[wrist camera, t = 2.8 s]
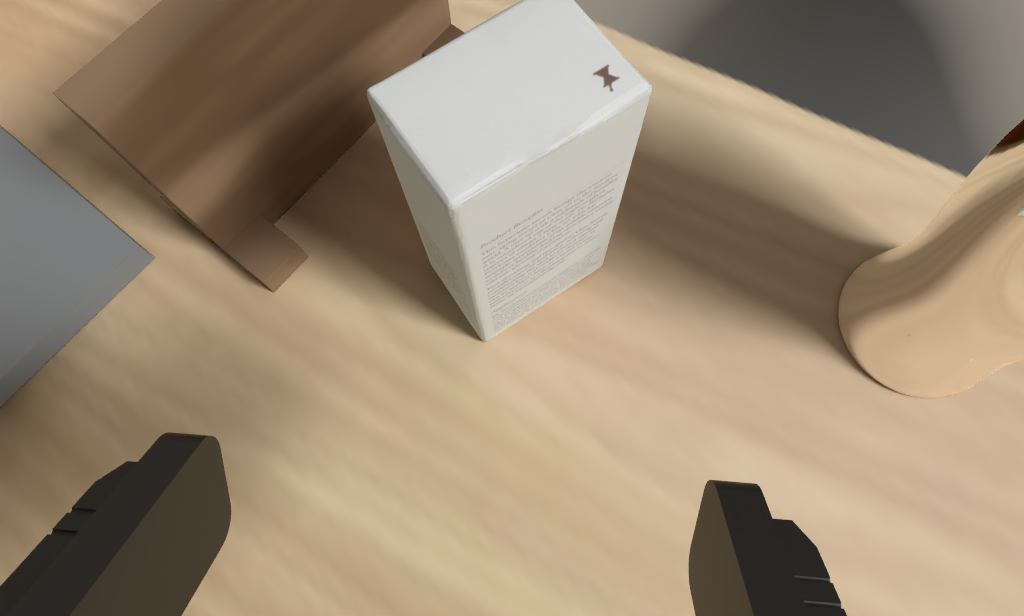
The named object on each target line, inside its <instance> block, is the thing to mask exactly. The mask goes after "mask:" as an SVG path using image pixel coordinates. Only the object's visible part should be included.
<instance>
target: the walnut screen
mask: <svg viewBox="0 0 1024 616" xmlns="http://www.w3.org/2000/svg"><path fill="white" fill-rule="evenodd" d="M463 34H464V32H463V31H461V30H460V29H458V28H457V27H455V26H454V25H452V24H451V19H450V12H449V4H448V0H162V1H161V2H160V3H159V4H157V5H156V6H155V7H154V8H153V9H151V10H150V11H149V12H148V13H147V14H146V15H144V16H143V17H142V18H141V19H140V20H139V21H137V22H136V23H135V24H134V25H133V26H132V27H130V28H129V29H128V30H127V31H126V32H124V33H123V34H122V35H121V36H120V37H119V38H117V39H116V40H115V41H114V42H113V43H112V44H110V45H109V46H108V47H107V48H106V49H104V50H103V51H102V52H101V53H100V54H99V55H97V56H96V57H95V58H94V59H93V60H92V61H90V62H89V63H88V64H87V65H86V66H84V67H83V68H82V69H81V70H80V71H79V72H77V73H76V74H75V75H74V76H73V77H72V78H70V79H69V80H68V81H67V82H66V83H64V84H63V85H62V86H61V87H60V88H59V89H57V90H56V91H55V92H54V93H53V94H54V95H55V96H56V97H57V98H58V99H59V100H60V101H61V102H63V103H64V104H65V105H66V106H67V107H68V108H69V109H70V110H71V111H72V112H73V113H74V114H75V115H77V116H78V117H79V118H80V119H81V120H82V121H83V122H84V123H85V124H86V125H87V126H88V127H89V128H90V129H92V130H93V131H94V132H95V133H96V134H97V135H98V136H99V137H100V138H101V139H102V140H103V141H104V142H106V143H107V144H108V145H109V146H110V147H111V148H112V149H113V150H114V151H115V152H116V153H117V154H118V155H120V156H121V157H122V158H123V159H124V160H125V161H126V162H127V163H128V164H129V165H130V166H131V167H132V168H133V169H135V170H136V171H137V172H138V173H139V174H140V175H141V176H142V177H143V178H144V179H145V180H146V181H147V182H149V183H150V184H151V185H152V186H153V187H154V188H155V189H156V190H157V191H158V192H159V193H160V194H161V195H162V196H161V198H162V199H163V200H164V201H165V202H166V203H167V204H168V205H169V206H170V207H171V208H173V209H174V210H175V211H176V212H177V213H178V214H180V215H181V216H182V217H183V218H184V219H186V220H187V221H188V222H189V223H190V224H192V225H193V226H194V227H195V228H197V229H198V230H199V231H200V232H201V233H203V234H204V235H205V236H206V237H207V238H209V239H210V240H211V241H212V242H213V243H215V244H216V245H217V246H218V247H219V248H221V249H222V250H223V251H224V252H226V253H227V254H228V255H229V256H230V257H232V258H233V259H234V260H235V261H236V262H238V263H239V264H240V265H241V266H242V267H244V268H245V269H246V270H247V271H248V272H250V273H251V274H252V275H253V276H255V277H256V278H257V279H258V280H259V281H261V282H262V283H263V284H264V285H265V286H267V287H268V288H269V289H270V290H271V291H273V292H275V291H276V290H277V289H278V288H279V287H280V286H281V285H282V283H283V282H284V281H285V280H286V279H287V278H288V277H289V276H290V275H291V274H292V273H293V272H294V271H295V270H296V269H297V268H298V267H299V266H300V265H301V264H302V263H303V262H304V261H305V259H306V258H307V257H308V256H307V255H306V254H305V253H304V251H303V250H302V249H301V248H300V246H299V245H298V244H296V243H295V242H294V241H293V240H291V239H290V238H289V237H288V236H286V235H285V234H284V233H283V232H281V231H280V230H279V229H278V228H276V227H275V226H274V225H273V224H274V223H275V222H276V221H277V220H278V219H279V218H280V217H281V216H282V215H283V214H284V213H285V212H286V211H287V210H288V209H289V208H290V207H291V206H292V205H293V204H294V203H295V202H296V201H297V200H298V199H299V198H300V197H301V196H302V195H303V194H304V193H305V192H306V191H307V190H308V189H309V188H310V187H311V186H312V185H313V184H314V183H315V182H316V181H317V180H318V179H319V178H320V177H321V176H322V175H323V174H324V173H325V172H326V171H327V170H328V169H329V168H330V167H331V165H332V164H333V163H334V162H335V161H336V160H337V159H338V158H339V157H340V156H341V155H342V154H343V153H344V152H345V151H346V150H347V149H348V148H349V147H350V146H351V145H352V144H353V143H354V142H355V141H356V140H357V139H358V138H359V137H360V136H361V135H362V134H363V133H364V132H365V131H366V130H367V129H368V128H369V127H370V126H371V125H372V124H373V123H374V122H375V121H376V119H375V116H374V113H373V111H372V108H371V105H370V103H369V100H368V97H367V89H369V88H370V87H372V86H374V85H375V84H377V83H379V82H381V81H383V80H385V79H386V78H388V77H390V76H392V75H394V74H395V73H397V72H399V71H400V70H402V69H404V68H406V67H407V66H409V65H411V64H413V63H414V62H416V61H418V60H420V59H421V58H423V57H425V56H427V55H428V54H430V53H432V52H434V51H435V50H437V49H439V48H440V47H442V46H444V45H446V44H447V43H449V42H451V41H452V40H454V39H456V38H458V37H459V36H461V35H463Z"/></svg>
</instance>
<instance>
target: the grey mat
mask: <svg viewBox="0 0 1024 616" xmlns="http://www.w3.org/2000/svg"><path fill="white" fill-rule="evenodd" d="M154 258H155V257H154V256H152V255H151V254H150V253H149V252H148V251H147V250H145V249H144V248H143V247H142V246H141V245H140V244H138V243H137V242H136V241H135V240H134V239H133V238H131V237H130V236H129V235H128V234H127V233H126V232H124V231H123V230H122V229H121V228H120V227H119V226H117V225H116V224H115V223H114V222H113V221H112V220H110V219H109V218H108V217H107V216H106V215H105V214H103V213H102V212H101V211H100V210H99V209H98V208H96V207H95V206H94V205H93V204H92V203H91V202H89V201H88V200H87V199H86V198H85V197H84V196H82V195H81V194H80V193H79V192H78V191H77V190H75V189H74V188H73V187H72V186H71V185H70V184H68V183H67V182H66V181H65V180H64V179H62V178H61V177H60V176H59V175H58V174H57V173H55V172H54V171H53V170H52V169H51V168H50V167H48V166H47V165H46V164H45V163H44V162H43V161H41V160H40V159H39V158H38V157H37V156H36V155H34V154H33V153H32V152H31V151H30V150H29V149H27V148H26V147H25V146H24V145H23V144H22V143H20V142H19V141H18V140H17V139H16V138H15V137H13V136H12V135H11V134H10V133H9V132H8V131H6V130H5V129H4V128H3V127H1V126H0V407H1V406H2V405H3V404H4V403H5V402H6V401H7V400H8V399H9V398H10V397H11V396H12V395H14V394H15V393H16V392H17V391H18V390H19V389H20V388H21V387H22V386H23V385H24V384H25V383H26V382H27V381H28V380H29V379H30V378H31V377H32V376H33V375H34V374H35V373H36V372H37V371H38V370H39V369H40V368H41V367H42V366H43V365H45V364H46V363H47V362H48V361H49V360H50V359H51V358H52V357H53V356H54V355H55V354H56V353H57V352H58V351H59V350H60V349H61V348H62V347H63V346H64V345H65V344H66V343H67V342H68V341H69V340H70V339H71V338H72V337H73V336H74V335H75V334H77V333H78V332H79V331H80V330H81V329H82V328H83V327H84V326H85V325H86V324H87V323H88V322H89V321H90V320H91V319H92V318H93V317H94V316H95V315H96V314H97V313H98V312H99V311H100V310H101V309H102V308H103V307H104V306H105V305H106V304H108V303H109V302H110V301H111V300H112V299H113V298H114V297H115V296H116V295H117V294H118V293H119V292H120V291H121V290H122V289H123V288H124V287H125V286H126V285H127V284H128V283H129V282H130V281H131V280H132V279H133V278H134V277H135V276H136V275H137V274H139V273H140V272H141V271H142V270H143V269H144V268H145V267H146V266H147V265H148V264H149V263H150V262H151V261H152V260H153V259H154Z"/></svg>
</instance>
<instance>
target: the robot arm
mask: <svg viewBox="0 0 1024 616" xmlns="http://www.w3.org/2000/svg"><path fill="white" fill-rule="evenodd" d="M230 520H231V504H230V498H229V493H228V487H227V482H226V476H225V471H224V465H223V460H222V455H221V449H220V445H219V442H218V440H217V439H216V438H215V437H213V436H205V435H193V434H181V433H165V434H163V435H162V436H160V437H159V438H158V439H157V441H156V442H155V443H154V444H153V445H152V446H151V448H150V449H149V450H148V451H147V452H146V453H145V454H144V456H143V457H142V458H141V459H140V460H139V461H138V462H131V461H127V462H125V463H124V464H122V465H121V466H119V467H118V468H116V469H115V470H113V471H111V472H110V473H108V474H107V475H105V476H104V477H102V478H101V479H99V480H97V481H96V482H95V483H94V484H93V485H92V486H91V487H90V488H89V489H88V490H87V491H86V493H85V494H84V495H83V496H82V497H81V498H80V499H79V500H78V501H77V502H76V504H75V505H74V506H73V507H72V511H71V513H66V515H65V516H64V517H63V518H62V519H61V520H60V521H59V522H58V523H57V525H56V526H55V527H54V528H53V532H52V534H51V535H50V534H47V536H46V537H45V538H44V539H43V540H42V541H41V542H40V543H39V544H38V545H37V547H36V548H35V549H34V550H33V551H32V552H31V553H30V554H29V555H28V556H27V558H26V559H25V560H24V561H23V562H22V563H21V564H20V565H19V566H18V567H17V569H16V570H15V571H14V572H13V573H12V574H11V575H10V576H9V577H8V578H7V580H6V581H5V582H4V583H3V584H2V585H1V586H0V616H181V615H182V614H183V612H184V610H185V609H186V607H187V605H188V603H189V602H190V600H191V598H192V597H193V595H194V593H195V592H196V590H197V588H198V586H199V585H200V583H201V581H202V580H203V578H204V576H205V575H206V573H207V571H208V569H209V568H210V566H211V564H212V563H213V561H214V559H215V558H216V556H217V554H218V552H219V551H220V549H221V547H222V545H223V544H224V541H225V539H226V536H227V533H228V530H229V525H230ZM689 583H690V590H691V595H692V600H693V605H694V610H695V615H696V616H847V615H846V613H845V610H844V609H841V601H840V599H839V597H838V594H837V592H836V590H835V588H834V585H833V583H830V576H829V574H828V572H827V569H826V567H825V565H824V563H823V560H822V558H821V556H820V553H819V551H818V549H817V547H816V546H815V545H814V544H813V543H812V542H811V540H810V539H809V538H808V537H807V536H806V535H805V534H804V533H803V532H802V531H801V530H800V529H799V527H798V526H797V525H796V524H795V523H794V522H793V521H792V520H781V519H772V516H771V514H770V511H769V508H768V506H767V503H766V501H765V498H764V495H763V493H762V490H761V488H760V487H759V486H758V485H757V484H752V483H740V482H728V481H717V480H709V481H708V482H707V484H706V486H705V489H704V493H703V497H702V501H701V505H700V510H699V514H698V518H697V522H696V526H695V531H694V535H693V539H692V543H691V548H690V554H689Z"/></svg>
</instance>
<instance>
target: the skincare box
mask: <svg viewBox="0 0 1024 616" xmlns="http://www.w3.org/2000/svg"><path fill="white" fill-rule="evenodd" d="M651 92H652V86H651V84H650V83H649V82H648V81H647V80H646V79H645V78H644V77H643V76H642V75H641V74H640V73H639V72H638V71H637V70H636V69H635V68H634V66H633V65H632V64H631V63H630V62H629V61H628V60H627V59H626V58H625V57H624V56H623V55H622V54H621V53H620V51H619V50H618V49H617V48H616V47H615V46H614V45H613V44H612V43H611V42H610V41H609V39H608V38H607V37H606V36H605V35H604V34H603V33H602V32H601V30H600V29H599V28H598V27H597V26H596V25H595V24H594V23H593V21H592V20H591V19H590V18H589V17H588V16H587V15H586V14H585V13H584V11H583V10H582V9H581V8H580V7H579V6H578V5H577V4H576V2H575V1H574V0H522V1H520V2H518V3H516V4H515V5H513V6H511V7H509V8H507V9H506V10H504V11H502V12H500V13H499V14H497V15H495V16H494V17H492V18H490V19H489V20H487V21H485V22H483V23H482V24H480V25H478V26H476V27H475V28H473V29H471V30H470V31H468V32H466V33H464V34H463V35H461V36H459V37H458V38H456V39H454V40H452V41H451V42H449V43H447V44H446V45H444V46H442V47H440V48H439V49H437V50H435V51H434V52H432V53H430V54H428V55H427V56H425V57H423V58H421V59H420V60H418V61H416V62H414V63H413V64H411V65H409V66H407V67H406V68H404V69H402V70H400V71H399V72H397V73H395V74H394V75H392V76H390V77H388V78H386V79H385V80H383V81H381V82H379V83H377V84H375V85H374V86H372V87H370V88H369V89H367V97H368V100H369V103H370V105H371V108H372V111H373V113H374V116H375V119H376V121H377V124H378V126H379V129H380V132H381V134H382V137H383V139H384V142H385V145H386V147H387V150H388V153H389V156H390V158H391V160H392V163H393V166H394V168H395V171H396V174H397V176H398V179H399V181H400V184H401V186H402V189H403V192H404V194H405V197H406V200H407V203H408V205H409V208H410V210H411V213H412V216H413V219H414V221H415V224H416V227H417V229H418V232H419V234H420V237H421V240H422V242H423V245H424V248H425V250H426V253H427V256H428V258H429V261H430V264H431V266H432V267H433V269H434V270H435V272H436V273H437V275H438V276H439V278H440V279H441V281H442V282H443V284H444V285H445V287H446V288H447V290H448V291H449V293H450V294H451V296H452V297H453V299H454V300H455V302H456V303H457V305H458V306H459V308H460V309H461V311H462V312H463V314H464V315H465V317H466V318H467V320H468V321H469V323H470V324H471V325H472V327H473V328H474V330H475V331H476V333H477V334H478V336H479V337H480V338H481V340H482V341H484V342H487V341H489V340H490V339H492V338H493V337H495V336H496V335H498V334H499V333H501V332H502V331H504V330H505V329H507V328H508V327H510V326H512V325H513V324H515V323H516V322H518V321H519V320H521V319H522V318H524V317H525V316H527V315H528V314H530V313H531V312H533V311H534V310H536V309H538V308H539V307H541V306H542V305H544V304H545V303H547V302H548V301H550V300H551V299H553V298H554V297H556V296H557V295H559V294H560V293H562V292H564V291H565V290H567V289H568V288H569V287H571V286H572V285H574V284H575V283H577V282H579V281H580V280H582V279H583V278H585V277H586V276H588V275H589V274H591V273H592V272H594V271H595V270H597V269H599V268H600V267H601V266H602V265H603V262H604V258H605V255H606V252H607V248H608V245H609V241H610V238H611V234H612V230H613V226H614V223H615V219H616V215H617V212H618V209H619V205H620V202H621V198H622V195H623V191H624V187H625V184H626V180H627V177H628V173H629V170H630V166H631V162H632V159H633V156H634V152H635V149H636V145H637V142H638V138H639V135H640V131H641V128H642V124H643V120H644V117H645V114H646V110H647V107H648V103H649V99H650V95H651Z"/></svg>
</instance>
